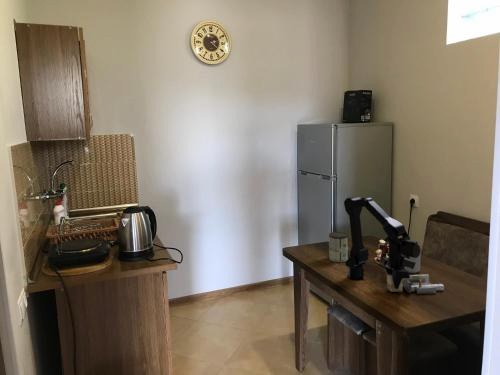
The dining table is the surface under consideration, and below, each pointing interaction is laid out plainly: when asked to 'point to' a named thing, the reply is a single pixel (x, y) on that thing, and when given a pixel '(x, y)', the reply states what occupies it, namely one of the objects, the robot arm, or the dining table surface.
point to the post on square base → (409, 287)
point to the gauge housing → (425, 280)
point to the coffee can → (338, 246)
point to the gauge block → (391, 285)
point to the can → (417, 265)
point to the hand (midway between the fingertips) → (394, 286)
